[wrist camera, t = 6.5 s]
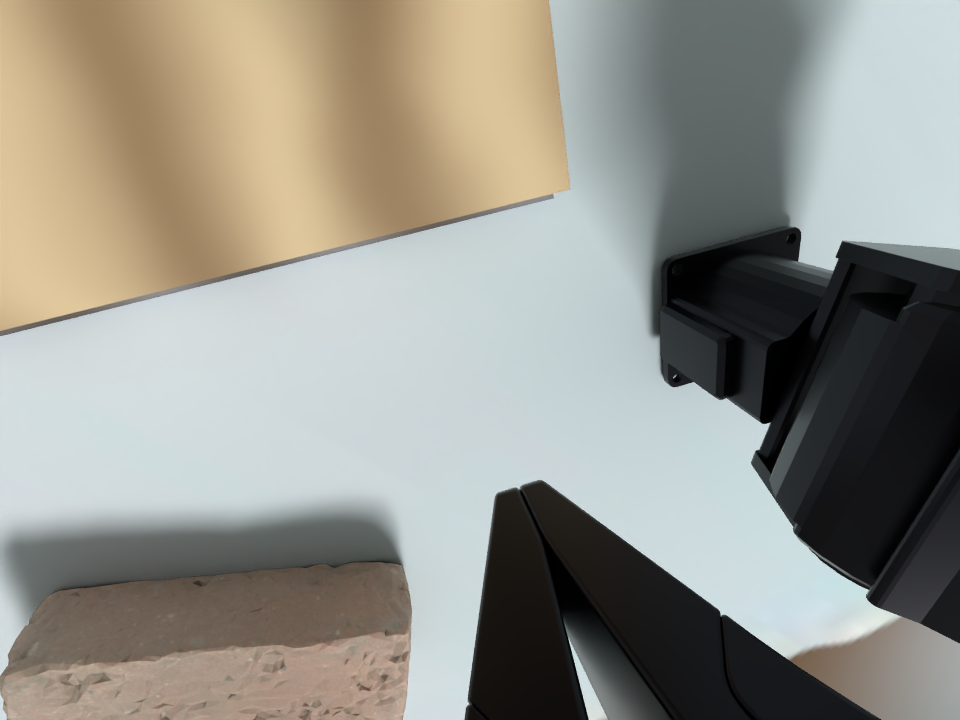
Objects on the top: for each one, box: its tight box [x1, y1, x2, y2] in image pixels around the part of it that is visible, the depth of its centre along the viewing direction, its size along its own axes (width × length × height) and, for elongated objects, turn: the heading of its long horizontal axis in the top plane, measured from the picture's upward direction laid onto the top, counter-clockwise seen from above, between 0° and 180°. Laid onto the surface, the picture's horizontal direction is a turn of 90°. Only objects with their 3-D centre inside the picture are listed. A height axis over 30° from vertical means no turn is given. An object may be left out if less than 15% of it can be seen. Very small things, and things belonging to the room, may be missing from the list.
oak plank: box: [0, 0, 570, 331], centre depth 12 cm, size 22×10×2 cm, turn 102°
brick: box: [0, 562, 412, 720], centre depth 22 cm, size 17×8×5 cm, turn 83°
